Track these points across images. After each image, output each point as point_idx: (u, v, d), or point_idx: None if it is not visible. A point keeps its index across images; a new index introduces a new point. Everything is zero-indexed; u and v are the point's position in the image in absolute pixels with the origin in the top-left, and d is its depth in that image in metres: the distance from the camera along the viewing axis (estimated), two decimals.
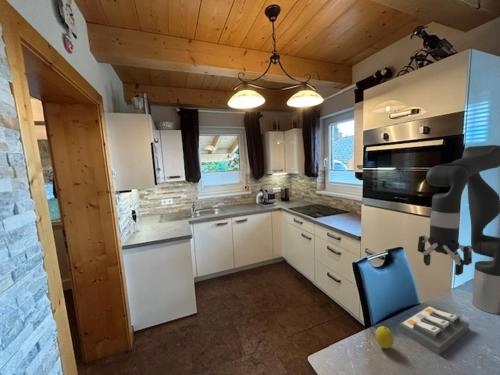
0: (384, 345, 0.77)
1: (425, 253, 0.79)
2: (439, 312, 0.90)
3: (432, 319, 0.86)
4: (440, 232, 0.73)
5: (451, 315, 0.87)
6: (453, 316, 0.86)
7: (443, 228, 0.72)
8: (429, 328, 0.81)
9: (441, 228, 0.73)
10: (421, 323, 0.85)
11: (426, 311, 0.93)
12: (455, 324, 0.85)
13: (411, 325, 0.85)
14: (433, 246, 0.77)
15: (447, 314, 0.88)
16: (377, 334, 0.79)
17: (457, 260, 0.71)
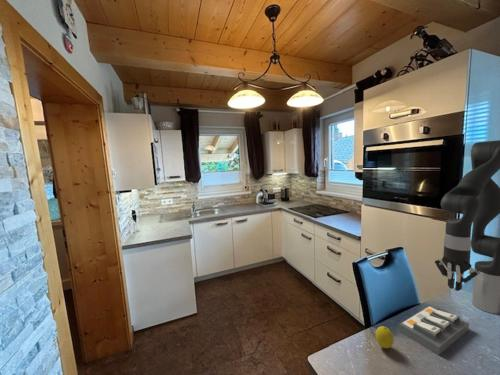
0: (384, 345, 0.77)
1: (449, 277, 0.86)
2: (439, 312, 0.90)
3: (432, 319, 0.86)
4: (453, 254, 0.82)
5: (451, 315, 0.87)
6: (453, 316, 0.86)
7: (456, 250, 0.81)
8: (429, 328, 0.81)
9: (454, 250, 0.82)
10: (421, 323, 0.85)
11: (426, 311, 0.93)
12: (455, 324, 0.85)
13: (411, 325, 0.85)
14: (449, 266, 0.85)
15: (447, 314, 0.88)
16: (377, 334, 0.79)
17: (458, 278, 0.83)
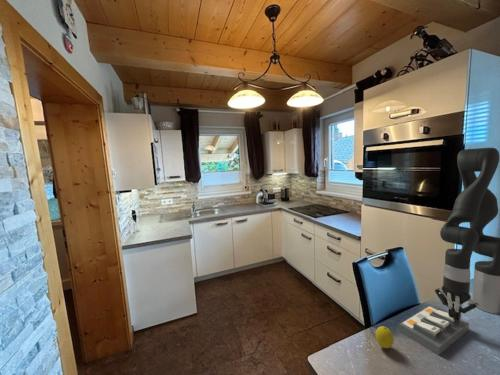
0: (384, 345, 0.77)
1: (449, 307, 0.86)
2: (439, 312, 0.90)
3: (432, 319, 0.86)
4: (453, 284, 0.83)
5: None
6: None
7: (456, 281, 0.82)
8: (429, 328, 0.81)
9: (454, 281, 0.82)
10: (421, 323, 0.85)
11: (426, 311, 0.93)
12: (455, 324, 0.85)
13: (411, 325, 0.85)
14: (449, 296, 0.86)
15: (447, 314, 0.88)
16: (377, 334, 0.79)
17: (457, 308, 0.84)
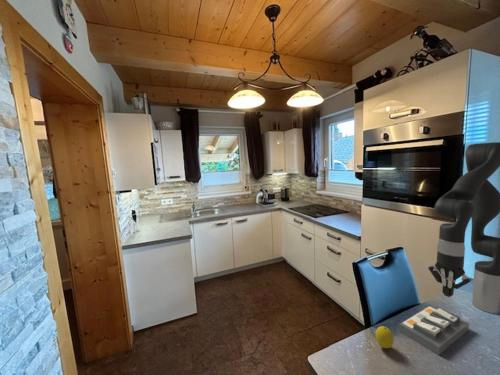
0: (384, 345, 0.77)
1: (443, 283, 0.83)
2: (440, 311, 0.90)
3: (432, 319, 0.86)
4: (447, 259, 0.80)
5: (452, 317, 0.87)
6: (454, 318, 0.86)
7: (450, 256, 0.79)
8: (429, 328, 0.81)
9: (448, 256, 0.80)
10: (421, 323, 0.85)
11: (426, 311, 0.93)
12: (455, 324, 0.85)
13: (411, 325, 0.85)
14: (442, 273, 0.83)
15: (448, 315, 0.88)
16: (377, 334, 0.79)
17: (450, 284, 0.81)
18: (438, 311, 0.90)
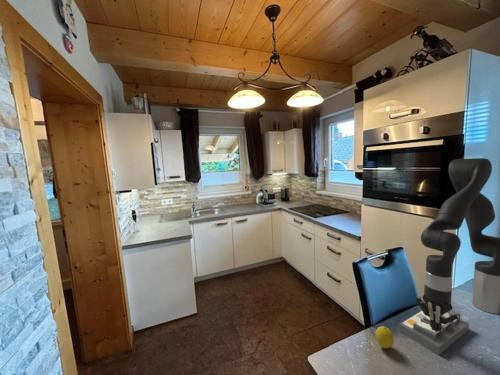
0: (384, 345, 0.77)
1: (431, 317, 0.80)
2: None
3: None
4: (433, 294, 0.77)
5: None
6: None
7: (436, 290, 0.76)
8: (429, 328, 0.81)
9: (434, 290, 0.76)
10: (421, 323, 0.85)
11: None
12: (455, 324, 0.85)
13: (411, 325, 0.85)
14: (430, 306, 0.80)
15: (448, 315, 0.88)
16: (377, 334, 0.79)
17: (437, 319, 0.78)
18: None
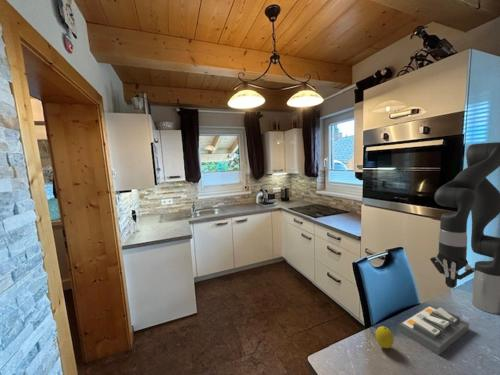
0: (384, 345, 0.77)
1: (446, 275, 0.81)
2: (440, 310, 0.90)
3: (432, 319, 0.86)
4: (449, 250, 0.77)
5: (452, 318, 0.87)
6: (453, 319, 0.86)
7: (452, 246, 0.77)
8: (430, 329, 0.81)
9: (450, 246, 0.77)
10: (422, 321, 0.85)
11: (426, 311, 0.93)
12: (455, 324, 0.85)
13: (411, 325, 0.85)
14: (445, 264, 0.80)
15: (448, 315, 0.88)
16: (377, 334, 0.79)
17: (453, 275, 0.79)
18: (439, 310, 0.90)
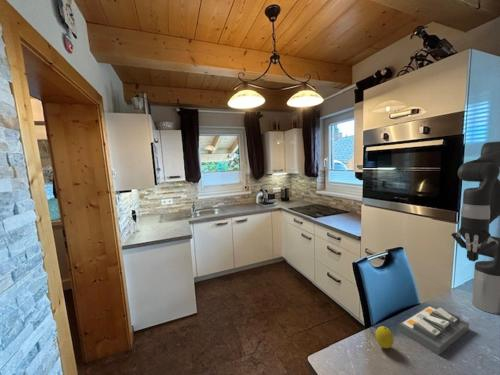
0: (384, 345, 0.77)
1: (468, 248, 0.83)
2: (440, 310, 0.90)
3: (432, 319, 0.86)
4: (472, 223, 0.80)
5: (452, 318, 0.87)
6: (453, 319, 0.86)
7: (475, 219, 0.79)
8: (430, 329, 0.81)
9: (473, 219, 0.79)
10: (422, 321, 0.84)
11: (426, 311, 0.93)
12: (455, 324, 0.85)
13: (411, 325, 0.85)
14: (467, 237, 0.83)
15: (448, 315, 0.88)
16: (377, 334, 0.79)
17: (475, 248, 0.81)
18: (439, 310, 0.90)
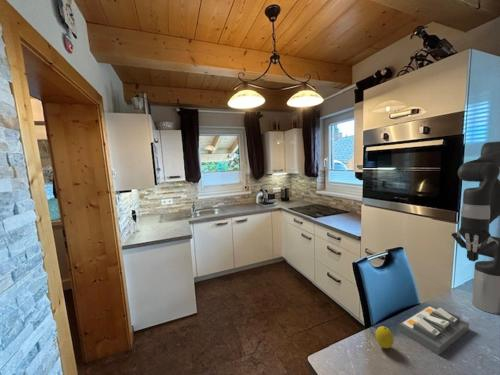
0: (384, 345, 0.77)
1: (468, 248, 0.83)
2: (440, 310, 0.90)
3: (432, 319, 0.86)
4: (472, 223, 0.80)
5: (452, 318, 0.87)
6: (454, 319, 0.86)
7: (475, 219, 0.79)
8: (430, 330, 0.81)
9: (473, 219, 0.79)
10: (422, 320, 0.84)
11: (426, 311, 0.93)
12: (455, 324, 0.85)
13: (411, 325, 0.85)
14: (467, 237, 0.83)
15: (448, 315, 0.88)
16: (377, 334, 0.79)
17: (475, 248, 0.81)
18: (438, 310, 0.90)
